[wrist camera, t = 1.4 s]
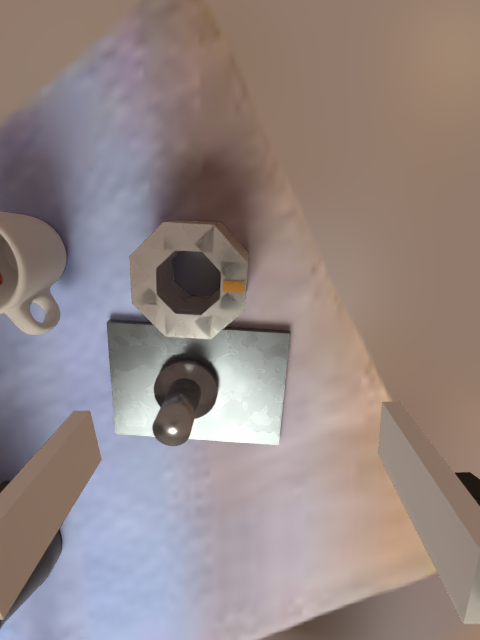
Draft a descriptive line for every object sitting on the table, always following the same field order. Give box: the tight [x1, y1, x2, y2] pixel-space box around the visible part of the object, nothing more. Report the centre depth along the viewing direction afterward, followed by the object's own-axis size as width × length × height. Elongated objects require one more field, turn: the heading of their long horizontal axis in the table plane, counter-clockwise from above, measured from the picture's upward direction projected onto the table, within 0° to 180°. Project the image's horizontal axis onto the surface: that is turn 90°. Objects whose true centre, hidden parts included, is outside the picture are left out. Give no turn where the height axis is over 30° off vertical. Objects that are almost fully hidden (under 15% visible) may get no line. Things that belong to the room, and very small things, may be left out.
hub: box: [129, 220, 249, 339], centre depth 28 cm, size 9×9×6 cm
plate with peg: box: [107, 320, 290, 446], centre depth 31 cm, size 18×13×8 cm
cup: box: [0, 211, 67, 335], centre depth 28 cm, size 11×8×8 cm
